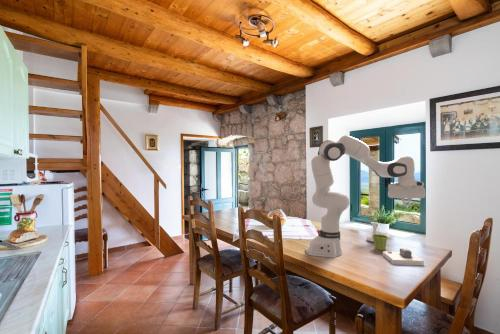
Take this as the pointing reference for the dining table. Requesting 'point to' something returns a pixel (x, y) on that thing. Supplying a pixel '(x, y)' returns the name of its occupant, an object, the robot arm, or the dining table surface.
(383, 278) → the dining table surface
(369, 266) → the dining table surface
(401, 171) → the robot arm
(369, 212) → the flower in vase
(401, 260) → the socket plate
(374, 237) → the plant pot
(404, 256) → the plug
